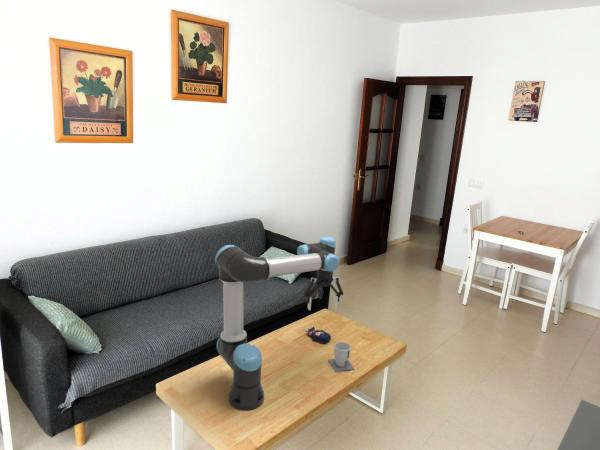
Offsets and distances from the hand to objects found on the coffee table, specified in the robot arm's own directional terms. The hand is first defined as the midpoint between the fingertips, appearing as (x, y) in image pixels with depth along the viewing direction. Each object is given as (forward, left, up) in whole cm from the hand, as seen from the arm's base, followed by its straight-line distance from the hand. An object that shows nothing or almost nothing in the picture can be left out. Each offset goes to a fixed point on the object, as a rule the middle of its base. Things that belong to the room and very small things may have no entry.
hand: (322, 308), depth 219 cm
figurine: (+5, +17, -27) cm, 32 cm away
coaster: (+8, -11, -27) cm, 30 cm away
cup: (+8, -11, -26) cm, 29 cm away
